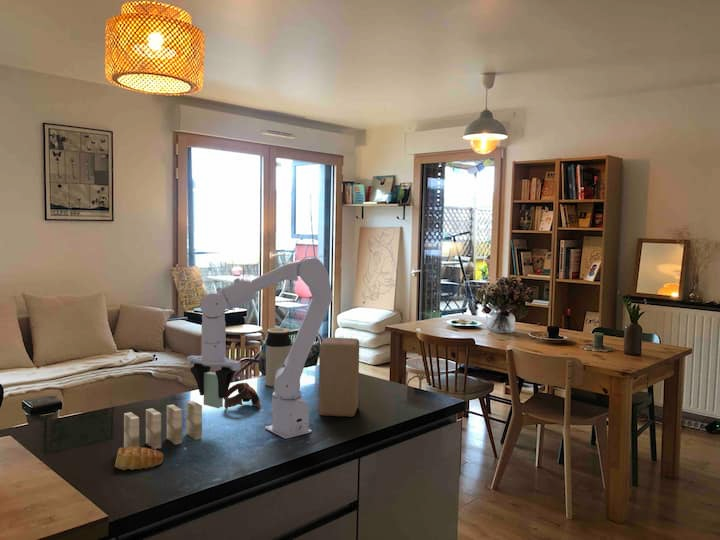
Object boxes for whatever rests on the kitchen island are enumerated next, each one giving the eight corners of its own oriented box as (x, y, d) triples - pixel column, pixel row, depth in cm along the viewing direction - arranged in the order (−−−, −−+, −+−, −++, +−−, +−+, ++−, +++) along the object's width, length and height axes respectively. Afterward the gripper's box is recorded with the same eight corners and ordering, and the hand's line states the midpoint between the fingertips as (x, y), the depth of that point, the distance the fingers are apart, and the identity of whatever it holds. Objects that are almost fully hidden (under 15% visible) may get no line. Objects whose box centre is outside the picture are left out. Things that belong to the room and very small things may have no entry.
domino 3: (182, 443, 137) (182, 409, 137) (175, 444, 136) (175, 410, 136) (173, 437, 141) (173, 404, 140) (166, 438, 140) (166, 405, 139)
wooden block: (358, 407, 168) (359, 338, 166) (354, 418, 158) (356, 344, 157) (323, 405, 169) (324, 336, 167) (317, 416, 159) (319, 343, 158)
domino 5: (222, 406, 144) (223, 374, 143) (217, 408, 143) (218, 375, 142) (208, 403, 147) (208, 371, 146) (203, 404, 145) (203, 372, 145)
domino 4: (201, 438, 140) (202, 405, 140) (195, 439, 139) (195, 406, 139) (192, 432, 144) (192, 400, 144) (186, 434, 143) (186, 401, 143)
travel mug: (267, 388, 185) (267, 332, 184) (264, 382, 193) (264, 328, 192) (292, 387, 188) (292, 331, 186) (288, 380, 195) (289, 327, 194)
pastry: (164, 457, 129) (164, 440, 129) (161, 470, 122) (161, 452, 122) (119, 460, 127) (119, 443, 126) (113, 473, 120) (113, 455, 120)
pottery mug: (263, 415, 161) (248, 391, 158) (232, 429, 161) (217, 406, 158) (264, 392, 172) (251, 370, 169) (235, 405, 172) (221, 383, 169)
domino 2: (161, 447, 134) (161, 413, 133) (154, 449, 133) (154, 414, 132) (152, 441, 138) (152, 408, 137) (145, 443, 137) (145, 409, 136)
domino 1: (139, 452, 131) (139, 417, 130) (131, 454, 130) (131, 419, 129) (131, 446, 134) (131, 412, 134) (124, 447, 133) (123, 413, 133)
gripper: (247, 341, 144) (247, 395, 145) (199, 336, 150) (199, 388, 151) (230, 346, 138) (230, 403, 139) (181, 340, 144) (181, 395, 144)
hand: (213, 395), depth 144 cm, fingers closed on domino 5, 5 cm apart
